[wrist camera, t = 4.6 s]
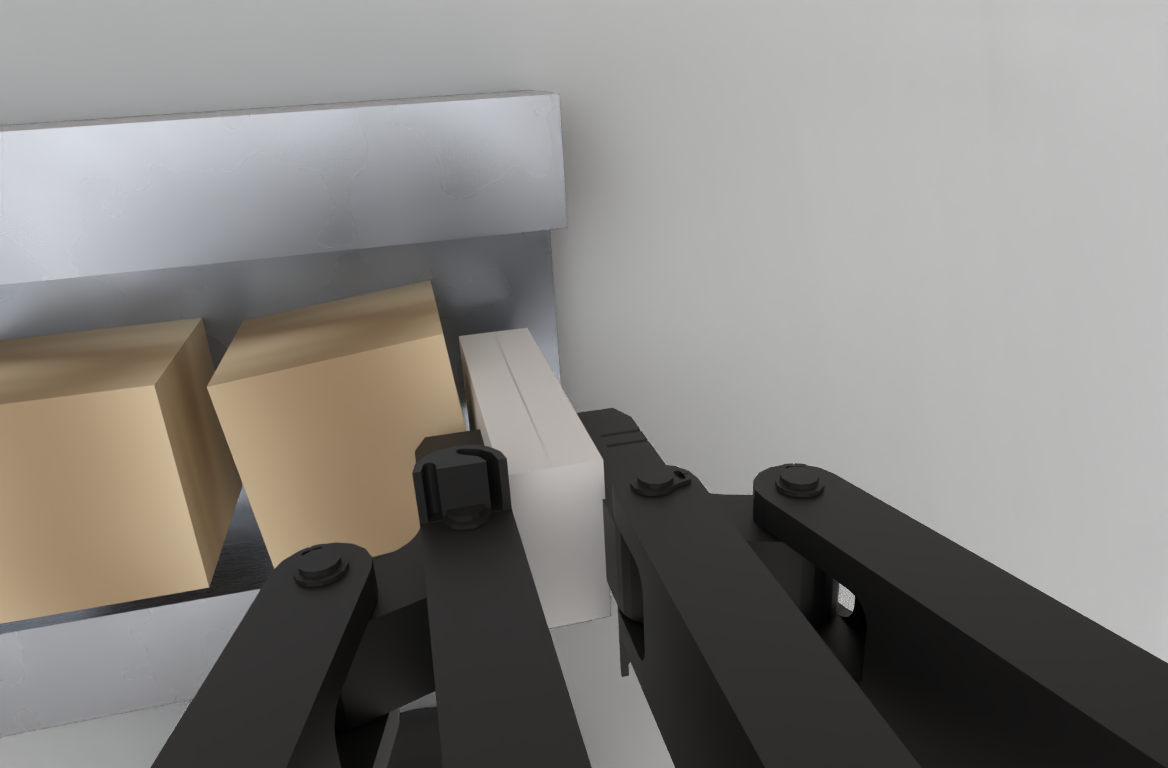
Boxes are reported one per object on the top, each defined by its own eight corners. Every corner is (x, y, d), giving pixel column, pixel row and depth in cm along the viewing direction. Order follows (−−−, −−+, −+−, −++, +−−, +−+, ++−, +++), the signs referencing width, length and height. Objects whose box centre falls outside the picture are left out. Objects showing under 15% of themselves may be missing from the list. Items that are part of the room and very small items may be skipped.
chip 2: (298, 482, 19) (279, 582, 15) (243, 320, 17) (206, 387, 14) (469, 440, 19) (489, 526, 16) (430, 279, 18) (443, 334, 14)
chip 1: (49, 514, 18) (-36, 629, 14) (-11, 341, 16) (-123, 420, 13) (242, 485, 19) (209, 587, 15) (201, 317, 17) (154, 385, 13)
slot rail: (-46, 663, 19) (-115, 760, 17) (-270, 143, 15) (-413, 160, 12) (566, 553, 22) (592, 620, 20) (531, 89, 18) (559, 93, 15)
